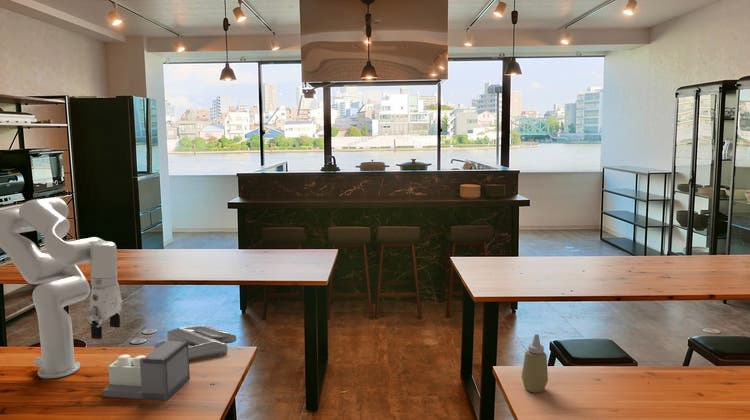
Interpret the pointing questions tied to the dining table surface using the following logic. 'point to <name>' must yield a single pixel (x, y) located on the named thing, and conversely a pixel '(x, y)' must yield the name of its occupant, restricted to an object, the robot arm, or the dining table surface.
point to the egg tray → (125, 371)
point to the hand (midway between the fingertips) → (106, 332)
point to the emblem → (201, 340)
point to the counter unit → (158, 373)
